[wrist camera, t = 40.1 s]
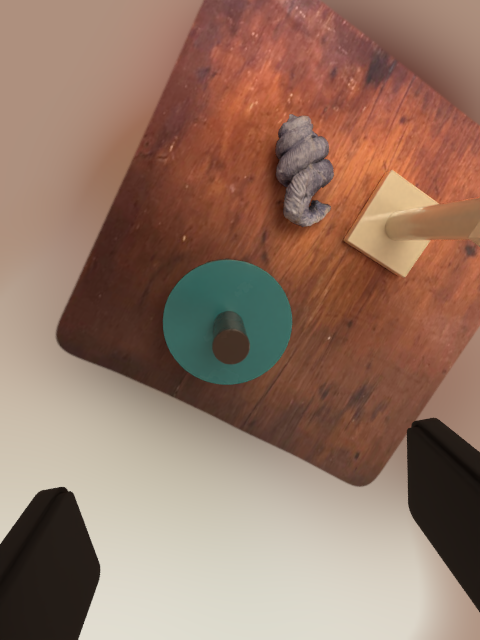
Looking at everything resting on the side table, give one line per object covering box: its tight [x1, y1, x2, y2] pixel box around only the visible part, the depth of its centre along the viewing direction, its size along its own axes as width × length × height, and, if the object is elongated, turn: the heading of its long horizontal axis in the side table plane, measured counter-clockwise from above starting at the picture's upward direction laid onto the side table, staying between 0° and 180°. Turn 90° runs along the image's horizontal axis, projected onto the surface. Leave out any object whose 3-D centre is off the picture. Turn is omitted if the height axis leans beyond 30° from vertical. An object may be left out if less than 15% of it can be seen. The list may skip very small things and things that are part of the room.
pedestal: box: [343, 170, 480, 278], centre depth 24 cm, size 8×8×18 cm
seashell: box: [276, 114, 334, 227], centre depth 29 cm, size 5×5×10 cm
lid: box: [163, 259, 292, 385], centre depth 24 cm, size 11×11×7 cm
